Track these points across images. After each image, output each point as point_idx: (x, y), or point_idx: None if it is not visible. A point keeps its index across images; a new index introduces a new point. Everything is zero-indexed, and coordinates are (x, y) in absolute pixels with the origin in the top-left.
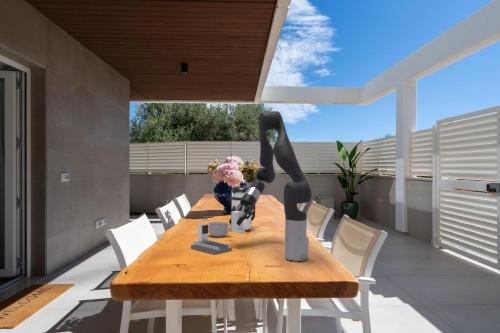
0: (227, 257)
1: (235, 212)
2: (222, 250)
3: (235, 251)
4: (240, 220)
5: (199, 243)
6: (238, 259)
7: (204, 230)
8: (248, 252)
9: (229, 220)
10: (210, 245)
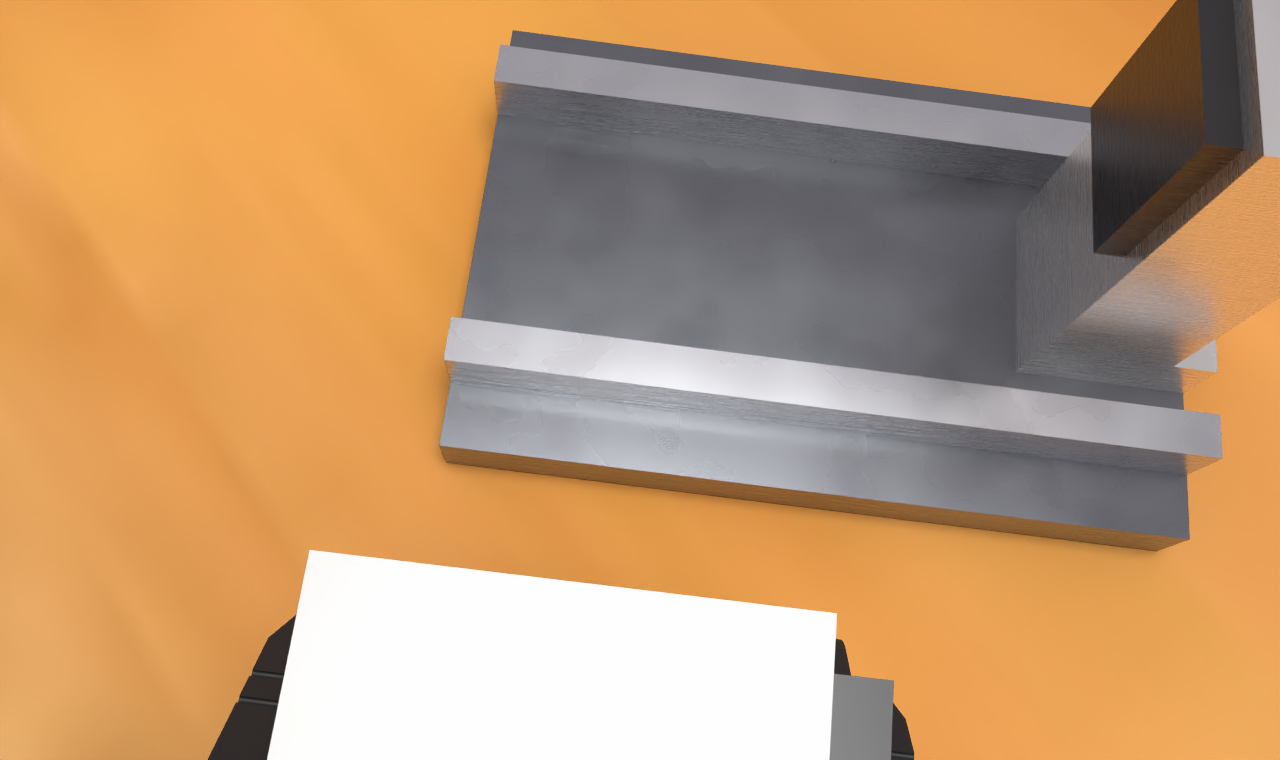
0: (235, 63)
1: (475, 574)
2: (483, 209)
3: (349, 457)
4: (256, 705)
5: (1010, 115)
6: (6, 67)
7: (1129, 89)
8: (77, 550)
9: (892, 718)
10: (714, 96)
